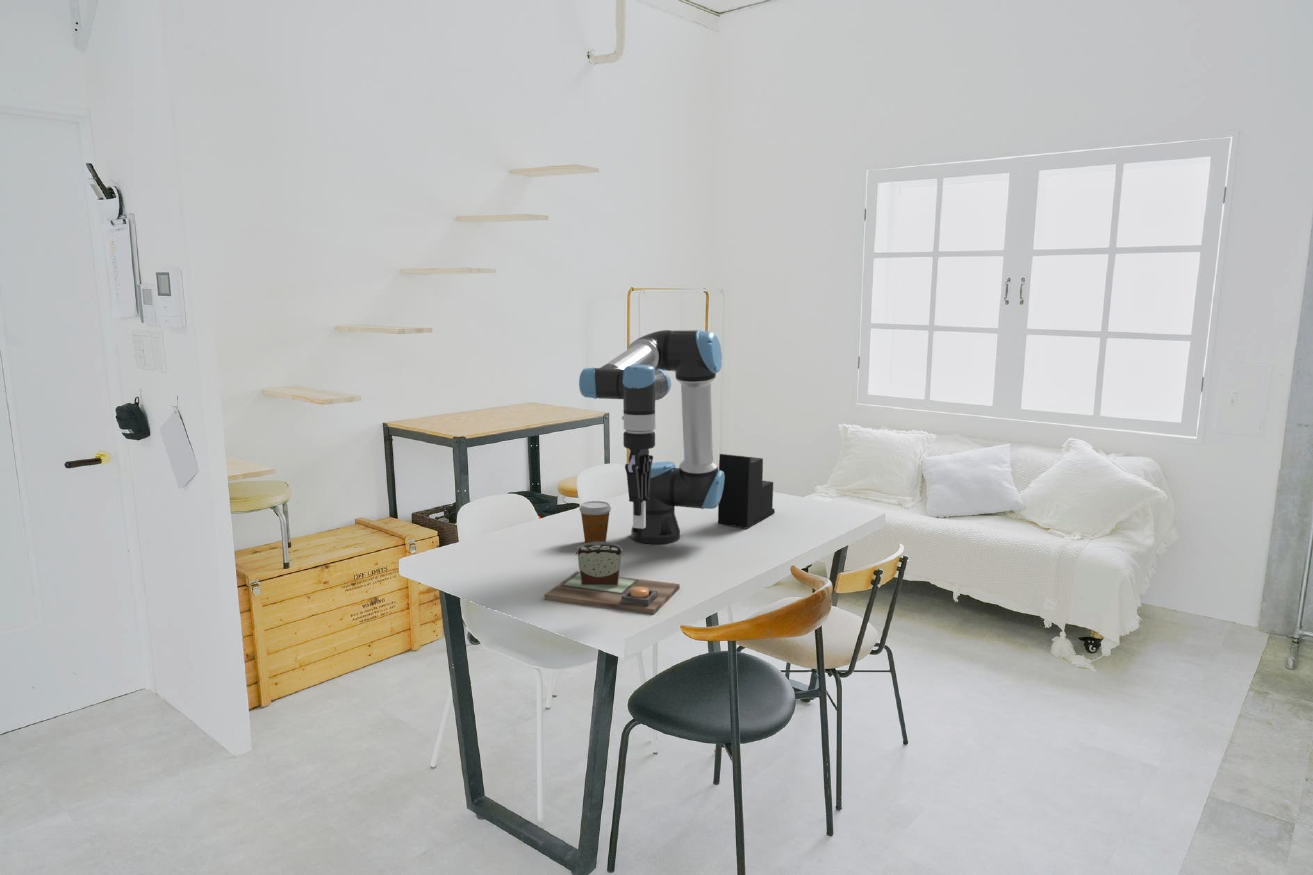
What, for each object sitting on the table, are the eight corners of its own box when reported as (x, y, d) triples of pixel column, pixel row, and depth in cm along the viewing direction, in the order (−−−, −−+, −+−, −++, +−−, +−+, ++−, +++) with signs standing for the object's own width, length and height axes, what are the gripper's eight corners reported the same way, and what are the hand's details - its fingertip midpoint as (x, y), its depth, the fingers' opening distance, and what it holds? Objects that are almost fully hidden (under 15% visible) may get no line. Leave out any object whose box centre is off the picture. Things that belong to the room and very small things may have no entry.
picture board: (576, 575, 235) (576, 565, 234) (679, 588, 225) (679, 578, 225) (544, 599, 217) (544, 588, 217) (654, 614, 207) (654, 602, 207)
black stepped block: (746, 509, 305) (747, 443, 301) (775, 513, 300) (777, 446, 296) (717, 525, 285) (718, 454, 281) (747, 529, 280) (749, 457, 276)
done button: (634, 593, 216) (634, 585, 215) (651, 595, 214) (651, 587, 214) (627, 599, 212) (627, 591, 211) (644, 601, 210) (644, 593, 210)
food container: (625, 577, 229) (624, 541, 227) (623, 585, 223) (623, 548, 221) (577, 577, 229) (577, 540, 227) (575, 585, 223) (575, 547, 221)
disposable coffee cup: (579, 538, 269) (579, 500, 267) (610, 538, 270) (610, 500, 267) (579, 547, 259) (579, 508, 257) (611, 547, 260) (611, 508, 258)
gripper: (634, 425, 214) (634, 519, 218) (614, 434, 202) (614, 533, 206) (663, 427, 211) (662, 521, 216) (644, 436, 199) (644, 536, 204)
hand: (639, 527), depth 211 cm, fingers closed
